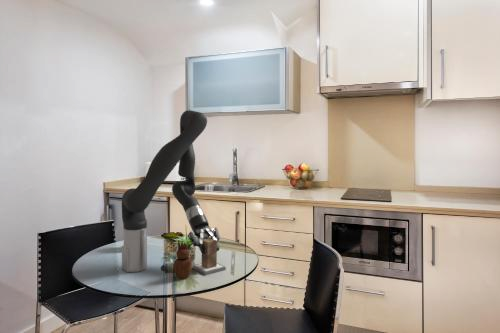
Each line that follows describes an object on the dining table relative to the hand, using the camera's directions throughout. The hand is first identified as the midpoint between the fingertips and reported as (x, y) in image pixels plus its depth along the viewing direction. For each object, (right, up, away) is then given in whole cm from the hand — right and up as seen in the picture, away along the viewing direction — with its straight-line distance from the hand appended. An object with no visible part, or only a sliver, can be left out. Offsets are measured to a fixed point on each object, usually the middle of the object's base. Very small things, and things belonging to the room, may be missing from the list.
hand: (211, 251), depth 143 cm
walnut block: (-1, -6, +2) cm, 7 cm away
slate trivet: (-1, -8, +2) cm, 8 cm away
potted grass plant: (-11, -8, -7) cm, 15 cm away
